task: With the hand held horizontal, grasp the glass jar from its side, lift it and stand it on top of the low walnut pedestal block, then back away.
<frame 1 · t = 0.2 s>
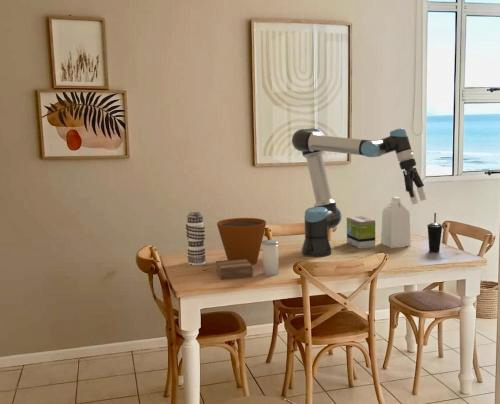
hand: (419, 202, 270), 28 cm above the table, tool tilted 20°, fingers open, 13 cm apart
flower pot: (242, 262, 275), on the table
tea box: (360, 245, 305), on the table
pedestal: (234, 274, 253), on the table
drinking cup: (434, 252, 286), on the table
milk: (395, 245, 304), on the table
glass jar: (270, 273, 252), on the table
striped cylindrical tower: (196, 263, 275), on the table
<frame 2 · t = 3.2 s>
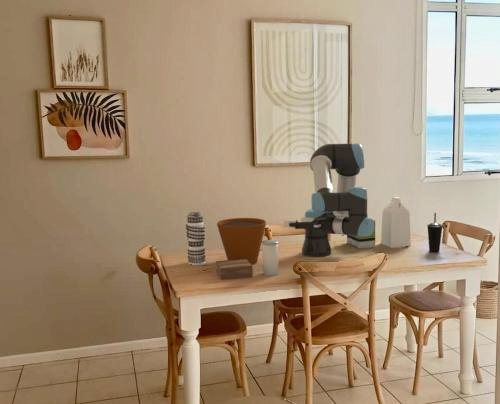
hand: (292, 222, 243), 24 cm above the table, tool horizontal, fingers open, 13 cm apart
nothing on the table moved.
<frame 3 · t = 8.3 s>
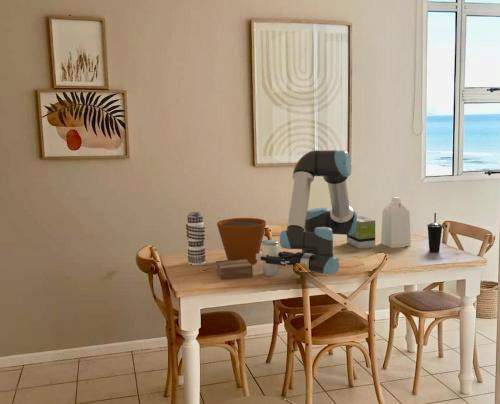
hand: (261, 255, 254), 8 cm above the table, tool horizontal, fingers closed on glass jar, 7 cm apart
glass jar: (270, 273, 252), on the table, touching gripper
everything else where it was.
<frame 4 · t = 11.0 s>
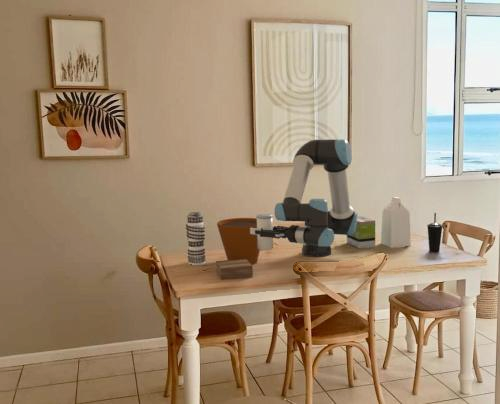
hand: (255, 229, 252), 20 cm above the table, tool horizontal, fingers closed on glass jar, 7 cm apart
glass jar: (265, 248, 250), point 12 cm above the table, touching gripper
everything else where it was.
when the fingers open (14 cm above the table, at t = 13.8 s): glass jar stays where it is, resting on pedestal.
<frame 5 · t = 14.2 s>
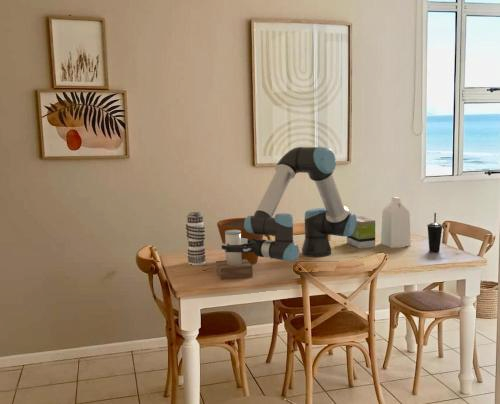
hand: (227, 243, 253), 14 cm above the table, tool horizontal, fingers open, 12 cm apart
glass jar: (234, 263, 252), point 5 cm above the table, touching pedestal
everything else where it was.
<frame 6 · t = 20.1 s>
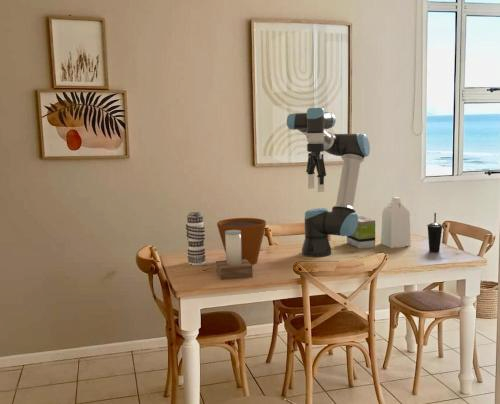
hand: (315, 190, 253), 37 cm above the table, tool pointing down, fingers open, 13 cm apart
nothing on the table moved.
at the end: glass jar inside the target area on the pedestal (0.1 cm from its centre), point 5.0 cm above the pedestal's base; glass jar tilted 0°; the gripper is holding nothing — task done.
